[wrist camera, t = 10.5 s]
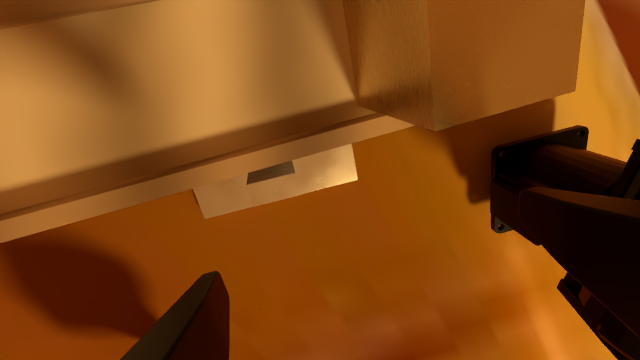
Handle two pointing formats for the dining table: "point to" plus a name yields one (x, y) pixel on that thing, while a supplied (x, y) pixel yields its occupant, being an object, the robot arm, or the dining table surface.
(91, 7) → the beam
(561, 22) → the tan block
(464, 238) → the dining table surface
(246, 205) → the stand
